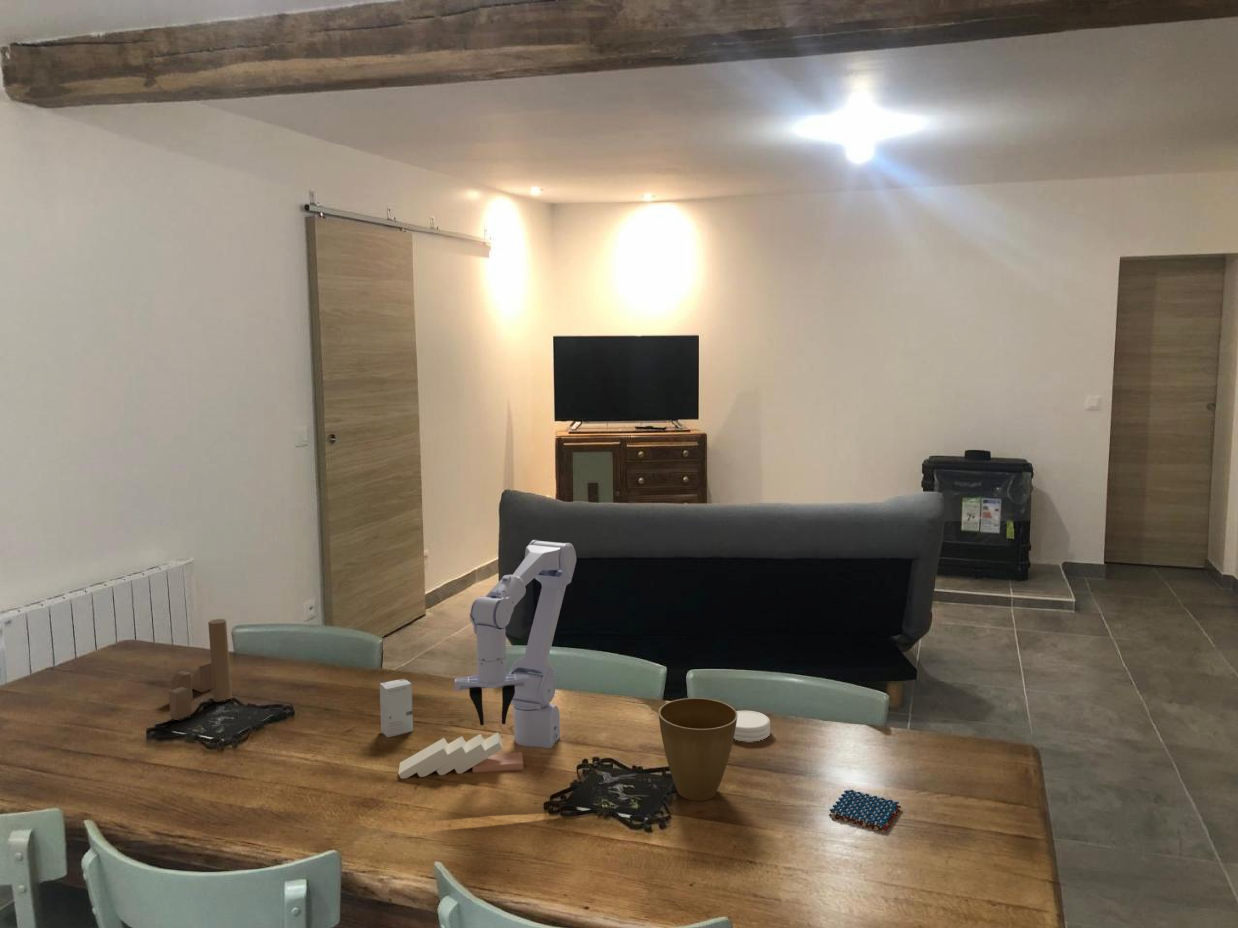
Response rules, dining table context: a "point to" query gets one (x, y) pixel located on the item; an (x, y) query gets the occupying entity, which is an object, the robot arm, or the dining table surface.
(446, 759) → the domino
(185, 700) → the wooden blocks
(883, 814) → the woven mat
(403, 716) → the skincare box
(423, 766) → the domino
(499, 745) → the domino
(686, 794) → the plant pot
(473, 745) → the domino
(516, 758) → the end domino
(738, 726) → the white round disc
